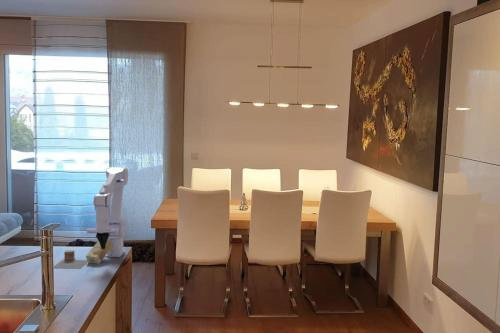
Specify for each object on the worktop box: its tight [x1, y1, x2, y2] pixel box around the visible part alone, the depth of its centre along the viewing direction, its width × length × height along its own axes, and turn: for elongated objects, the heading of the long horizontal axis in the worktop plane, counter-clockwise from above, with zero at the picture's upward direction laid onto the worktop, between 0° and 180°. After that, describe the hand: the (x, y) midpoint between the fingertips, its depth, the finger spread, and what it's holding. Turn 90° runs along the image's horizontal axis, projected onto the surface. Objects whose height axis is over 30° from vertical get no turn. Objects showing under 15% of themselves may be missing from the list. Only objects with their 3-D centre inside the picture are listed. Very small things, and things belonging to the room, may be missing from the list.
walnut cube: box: [63, 249, 75, 261], centre depth 230 cm, size 4×4×4 cm
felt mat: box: [53, 259, 88, 270], centre depth 223 cm, size 12×13×1 cm
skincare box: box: [85, 240, 112, 265], centre depth 228 cm, size 6×4×12 cm
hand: (103, 248), depth 221 cm, fingers closed
